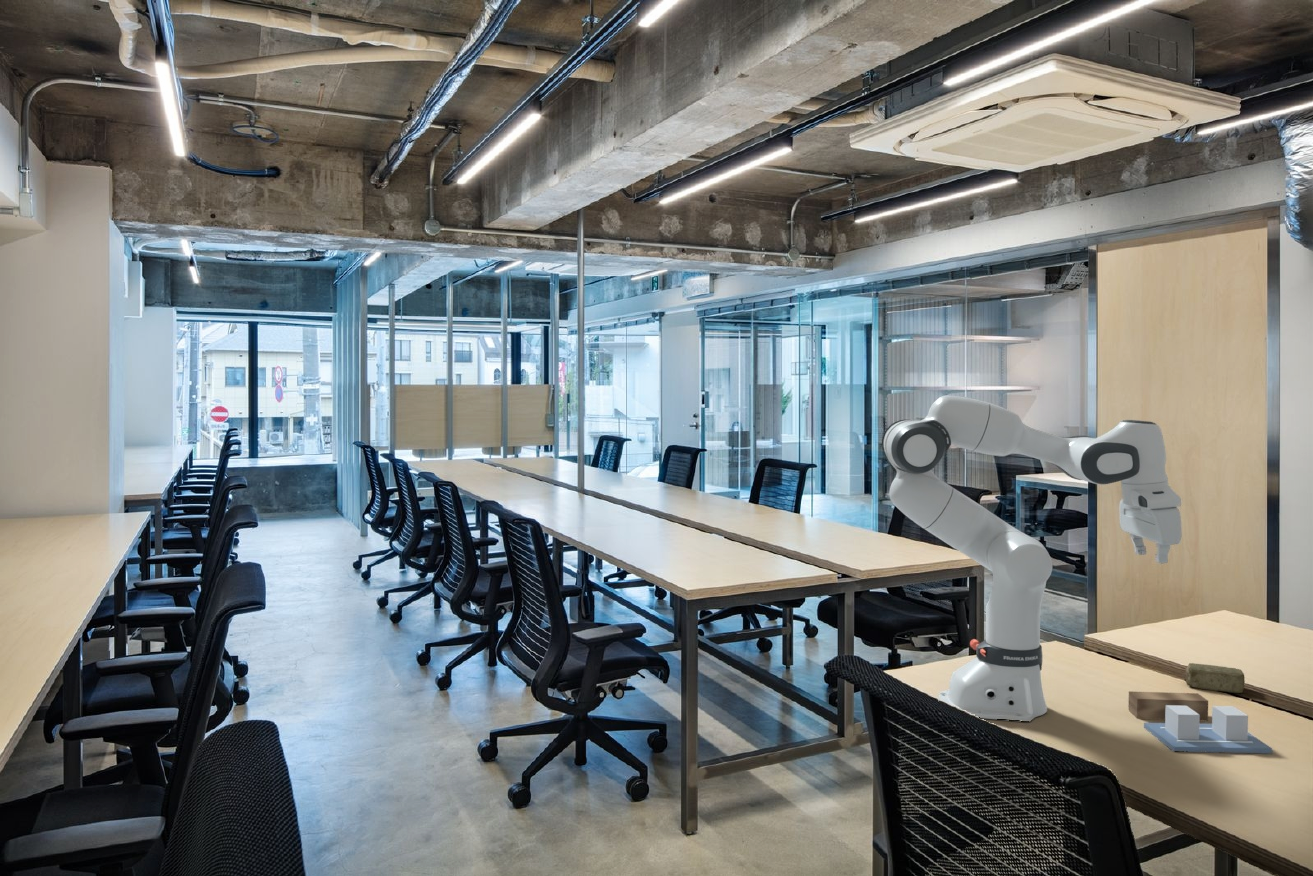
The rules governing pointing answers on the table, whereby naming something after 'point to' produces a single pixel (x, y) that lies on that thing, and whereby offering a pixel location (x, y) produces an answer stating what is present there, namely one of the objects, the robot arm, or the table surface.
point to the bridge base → (1207, 731)
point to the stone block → (1215, 678)
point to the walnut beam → (1155, 704)
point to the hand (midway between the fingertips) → (1151, 558)
